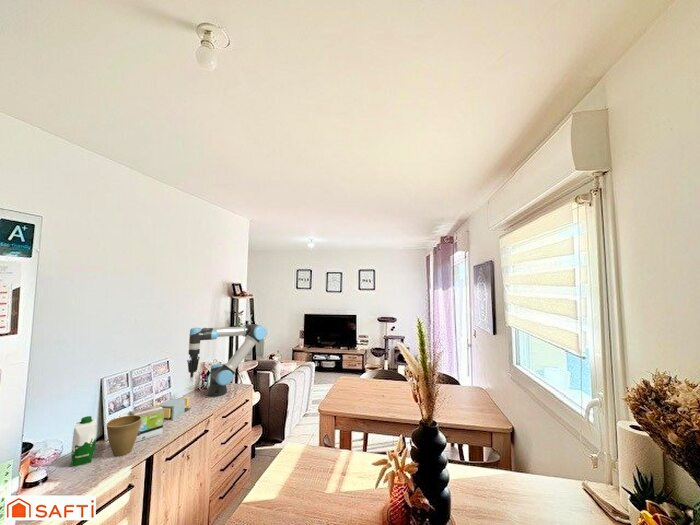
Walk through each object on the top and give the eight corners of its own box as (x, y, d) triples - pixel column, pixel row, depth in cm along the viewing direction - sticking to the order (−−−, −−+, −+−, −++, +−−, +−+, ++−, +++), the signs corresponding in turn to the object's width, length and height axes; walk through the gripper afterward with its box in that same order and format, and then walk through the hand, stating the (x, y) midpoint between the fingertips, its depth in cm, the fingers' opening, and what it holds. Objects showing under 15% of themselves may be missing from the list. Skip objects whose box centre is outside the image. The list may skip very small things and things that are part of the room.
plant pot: (144, 444, 169) (147, 414, 170) (130, 459, 154) (132, 425, 156) (114, 446, 166) (117, 415, 168) (96, 461, 152) (99, 427, 153)
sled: (183, 405, 224) (184, 396, 225) (190, 405, 224) (191, 396, 224) (160, 419, 200) (161, 408, 200) (168, 419, 199) (169, 409, 200)
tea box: (133, 443, 170) (135, 415, 171) (126, 438, 176) (128, 411, 177) (163, 433, 181) (164, 407, 183) (156, 429, 188) (157, 403, 189)
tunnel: (180, 406, 224) (181, 393, 225) (194, 406, 224) (194, 393, 225) (147, 425, 192) (148, 410, 192) (163, 426, 191) (164, 411, 192)
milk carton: (94, 455, 158) (98, 414, 160) (93, 463, 150) (96, 420, 152) (71, 460, 153) (75, 418, 154) (69, 469, 145) (73, 424, 147)
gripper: (194, 347, 240) (192, 378, 237) (184, 350, 227) (182, 383, 224) (203, 347, 239) (201, 378, 237) (194, 350, 226) (192, 383, 224)
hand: (192, 381), depth 231 cm, fingers closed
